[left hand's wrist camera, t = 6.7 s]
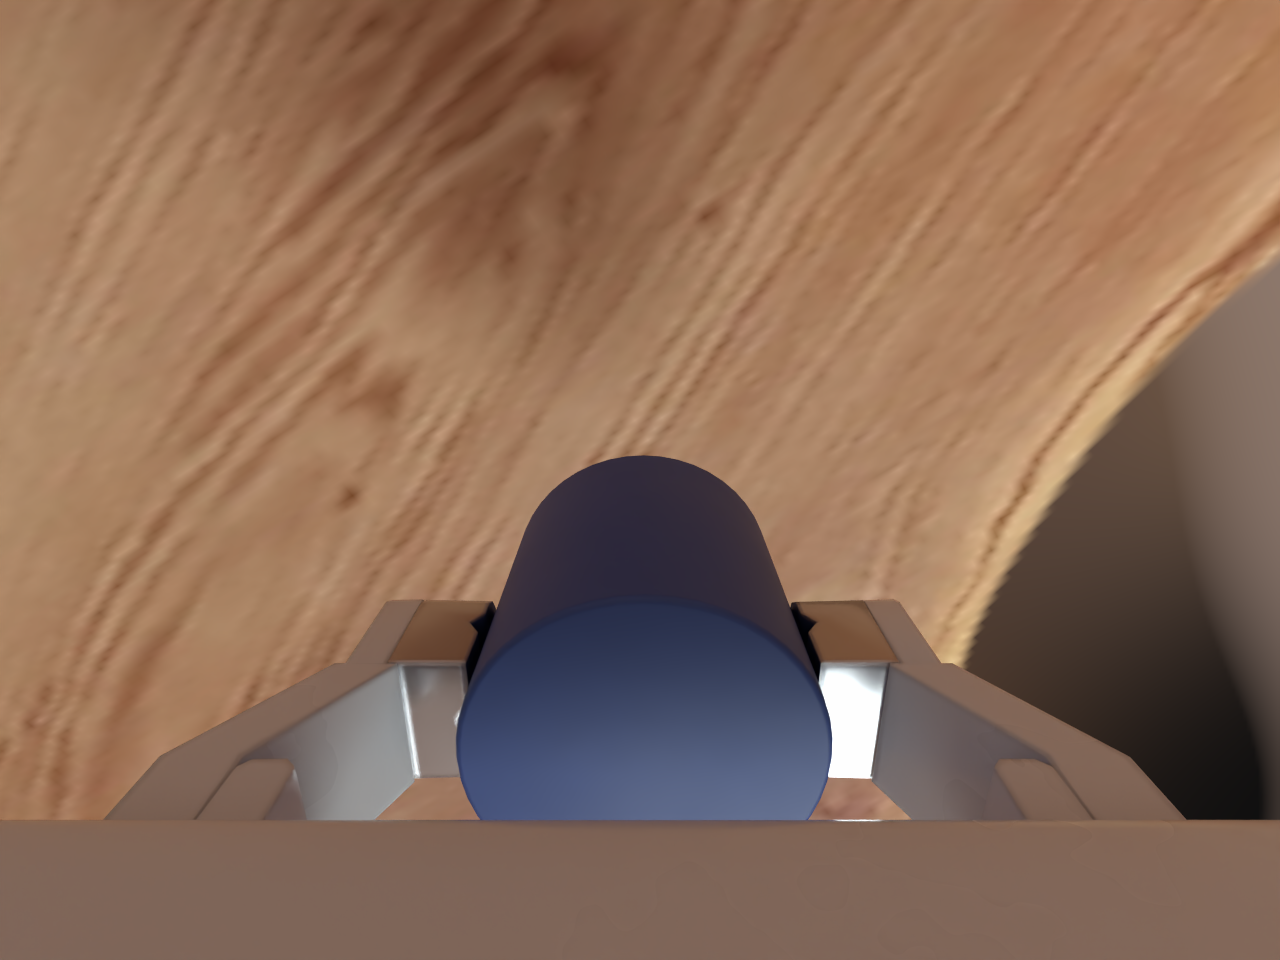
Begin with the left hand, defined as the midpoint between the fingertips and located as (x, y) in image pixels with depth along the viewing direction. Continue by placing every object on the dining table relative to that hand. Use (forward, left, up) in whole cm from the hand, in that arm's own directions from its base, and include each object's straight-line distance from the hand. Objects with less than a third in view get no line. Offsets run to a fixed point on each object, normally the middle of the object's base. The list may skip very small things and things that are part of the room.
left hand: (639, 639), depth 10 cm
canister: (0, 0, -2) cm, 2 cm away
